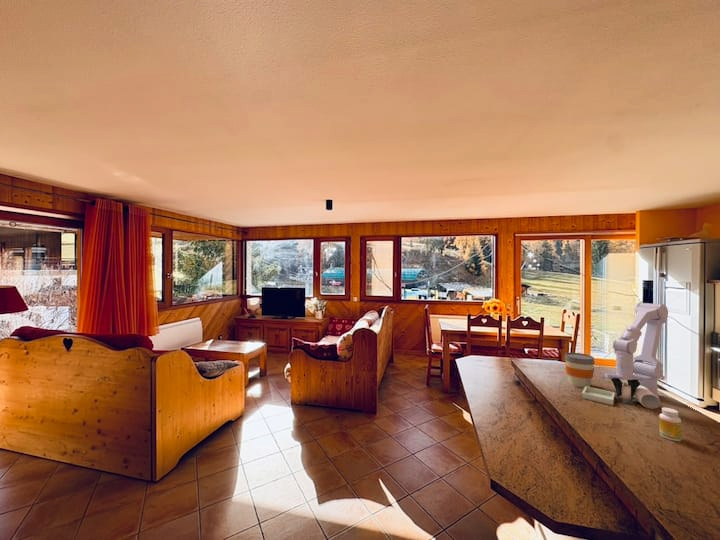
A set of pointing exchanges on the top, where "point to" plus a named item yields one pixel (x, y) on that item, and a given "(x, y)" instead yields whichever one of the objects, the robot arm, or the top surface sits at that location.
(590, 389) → the tray
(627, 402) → the collar
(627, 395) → the peg
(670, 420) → the supplement bottle
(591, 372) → the reusable coffee cup
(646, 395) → the can
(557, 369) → the top surface
